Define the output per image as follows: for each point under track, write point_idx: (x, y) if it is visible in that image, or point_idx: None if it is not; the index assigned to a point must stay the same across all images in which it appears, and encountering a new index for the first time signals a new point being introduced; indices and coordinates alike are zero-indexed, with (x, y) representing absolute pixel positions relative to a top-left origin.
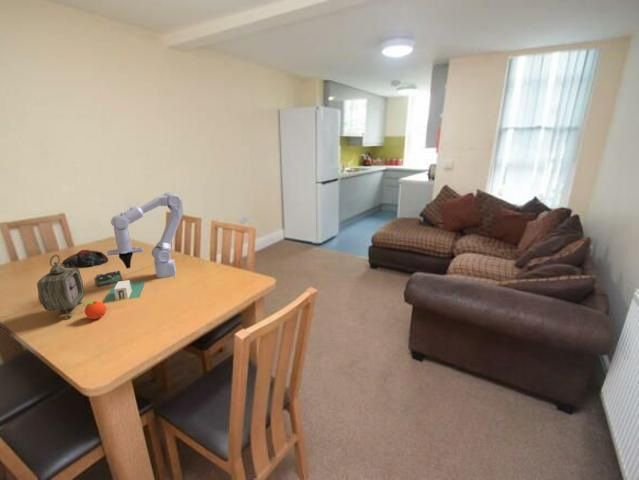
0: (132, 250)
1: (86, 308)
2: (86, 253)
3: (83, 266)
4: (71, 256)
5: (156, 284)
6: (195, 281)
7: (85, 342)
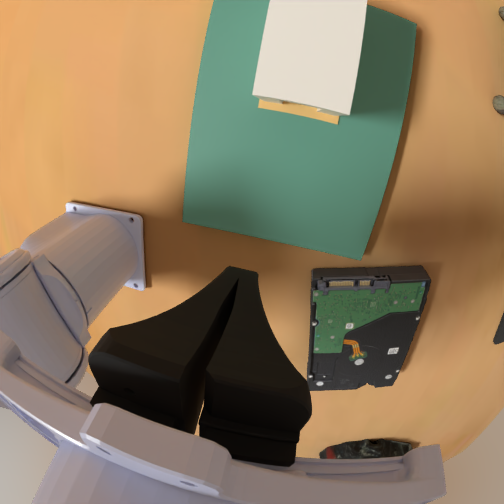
0: (27, 405)
1: None
2: None
3: (384, 442)
4: None
5: (134, 155)
6: (17, 127)
7: None
